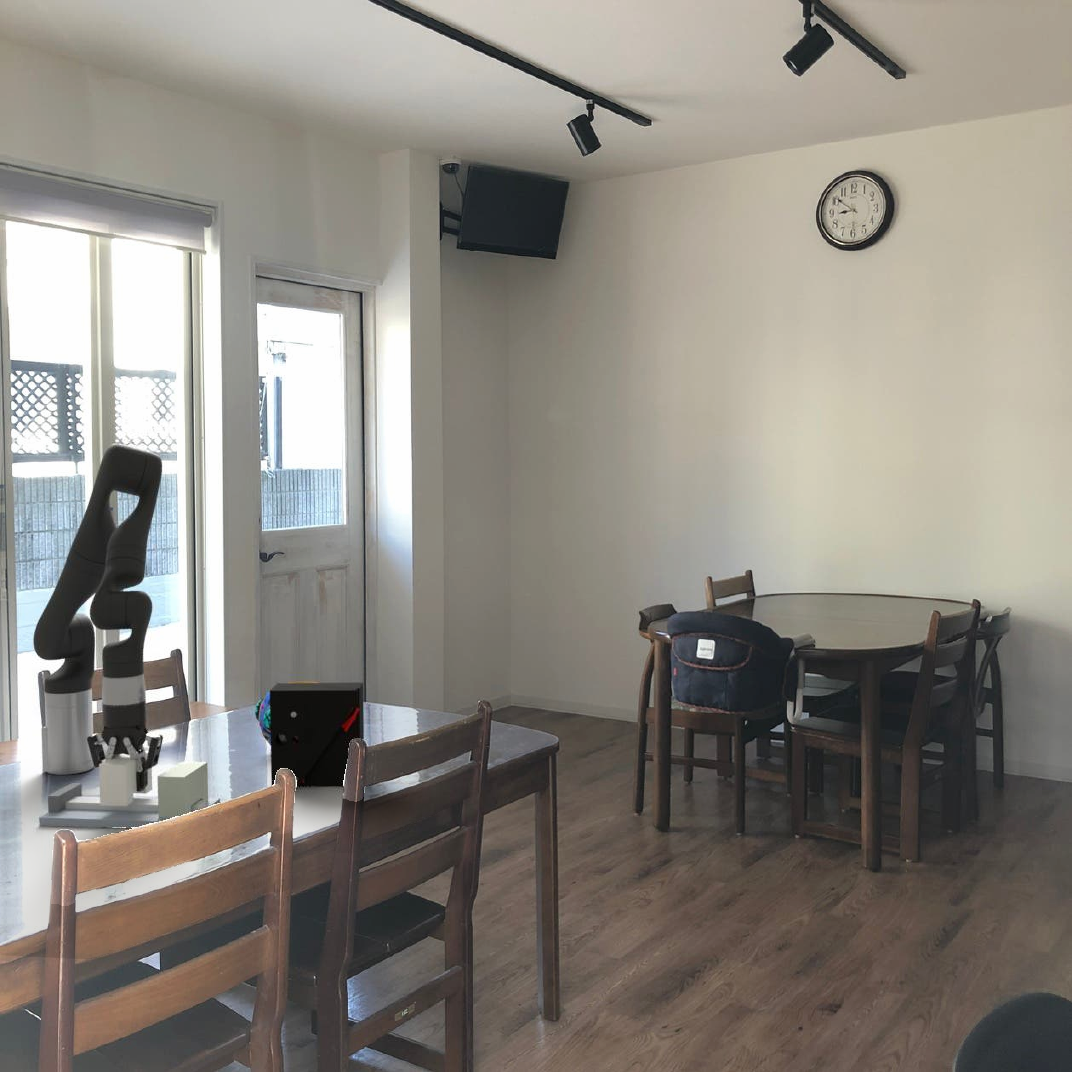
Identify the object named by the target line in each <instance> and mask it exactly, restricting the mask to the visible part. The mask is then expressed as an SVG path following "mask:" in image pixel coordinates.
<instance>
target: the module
mask: <svg viewBox="0 0 1072 1072" xmlns="http://www.w3.org/2000/svg"><path fill="white" fill-rule="evenodd" d="M144 750H145V749H144ZM148 751H149V749H148V750H145V752H146V755H145V756H146V759H147V756H148ZM140 759H141V758H140ZM98 770H99V771H98V773H99V775H98V776H99V778H98V779H99V795H100V805H107V806H128V805H129V804H131V803H132V802H133V796H134V794H146V795H147V794H148V793H149V792H151V791H152V790H153V767H152V768H150V769H148V785H147V787H145V789H144V790H143V791H141V792H137V785H136V772H138V771H137V770H136V761H135V760H131V758H130V755H126V754H120V755H118V756H117V757H115V758H113V759H108V760H106V761H104V762H103V763H101V764H99V767H98Z"/></svg>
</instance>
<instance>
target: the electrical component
mask: <svg viewBox="0 0 1072 1072" xmlns="http://www.w3.org/2000/svg"><path fill="white" fill-rule="evenodd" d="M269 691H270V730H271V745H270V765H271V766H270V768H271V769H270V770H271V772H270V774H271V776H270V777H271V779H270V780H271V782H270V783H271V786H272V785H273V784H274V780H275V775H276V772H277V770H279V769H280V768H288V769H290V770H292V771H293V773H294V774H295V776H296V780H297V788H296V789H299V788H334V787H335V788H344V787H343V780H344V774H345V769H346V764H347V759H348V748H349V743H350V741H351V740H352V739H354V738H361V739H364V740H365V734H364V733H365V729H364V727H365V724H364V723H365V722H364V720H365V718H364V717H365V716H364V715H365V714H364V711H365V710H364V682H360V681H358V682H317V683H290V682H280V683H279V682H277V683H276V684H275V685H274V686H272V688H271V689H269Z"/></svg>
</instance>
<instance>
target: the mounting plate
mask: <svg viewBox="0 0 1072 1072" xmlns="http://www.w3.org/2000/svg"><path fill="white" fill-rule="evenodd" d="M208 771H209V770H208V761H188V760H187V761H185V760H184V761H181V762H179V763H177V764H175V765H174V766H172V767H170V768H169V769H167V770H166V771H164V772H162V773H160V774H159V775H158V776H157V796H156V795H133V802H132V803H131V804H129V805H128V806H107V805H100V794H97V793H95V794H89V793H83V783H77V782H76V783H75V782H71V783H69V784H67V785H66V786H64V787H61V788H60V789H58V790H56V791H55V792H53V793H51V794H49V795H47V804H48V805H47V806H48V807H47V808H48V809H47V810H48V812H46V813H45V814H43V815H40V816H39V817H38V819H39V821H38V823H39V824H38V825H39V826H40V827H41V826H42V827H44V826H46V827H66V826H68V827H69V828H70V827H73V828H95V827H107V828H106V829H110V828H109V827H126V828H131V827H139V826H142V825H146V824H149V823H154V822H159V821H163V820H166V819H170V818H172V817H175V816H181V815H183V814H187V813H189V812H193V811H195V810H200V809H203V808H206V807H208V806H211V805H213V804H217V803H220V804H221V798H220V797H209V774H208Z"/></svg>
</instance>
